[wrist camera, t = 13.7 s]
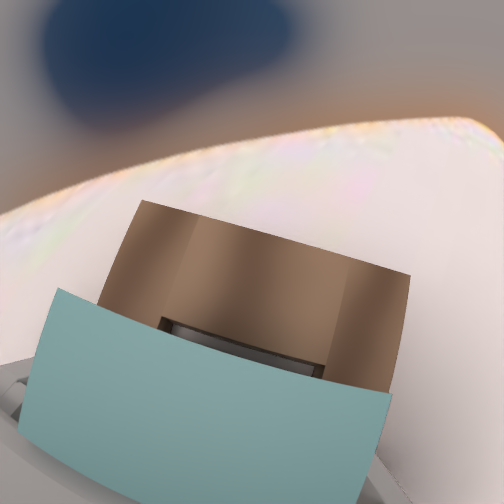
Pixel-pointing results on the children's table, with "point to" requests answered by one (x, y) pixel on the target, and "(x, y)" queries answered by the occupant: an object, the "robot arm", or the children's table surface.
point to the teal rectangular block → (191, 416)
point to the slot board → (260, 294)
